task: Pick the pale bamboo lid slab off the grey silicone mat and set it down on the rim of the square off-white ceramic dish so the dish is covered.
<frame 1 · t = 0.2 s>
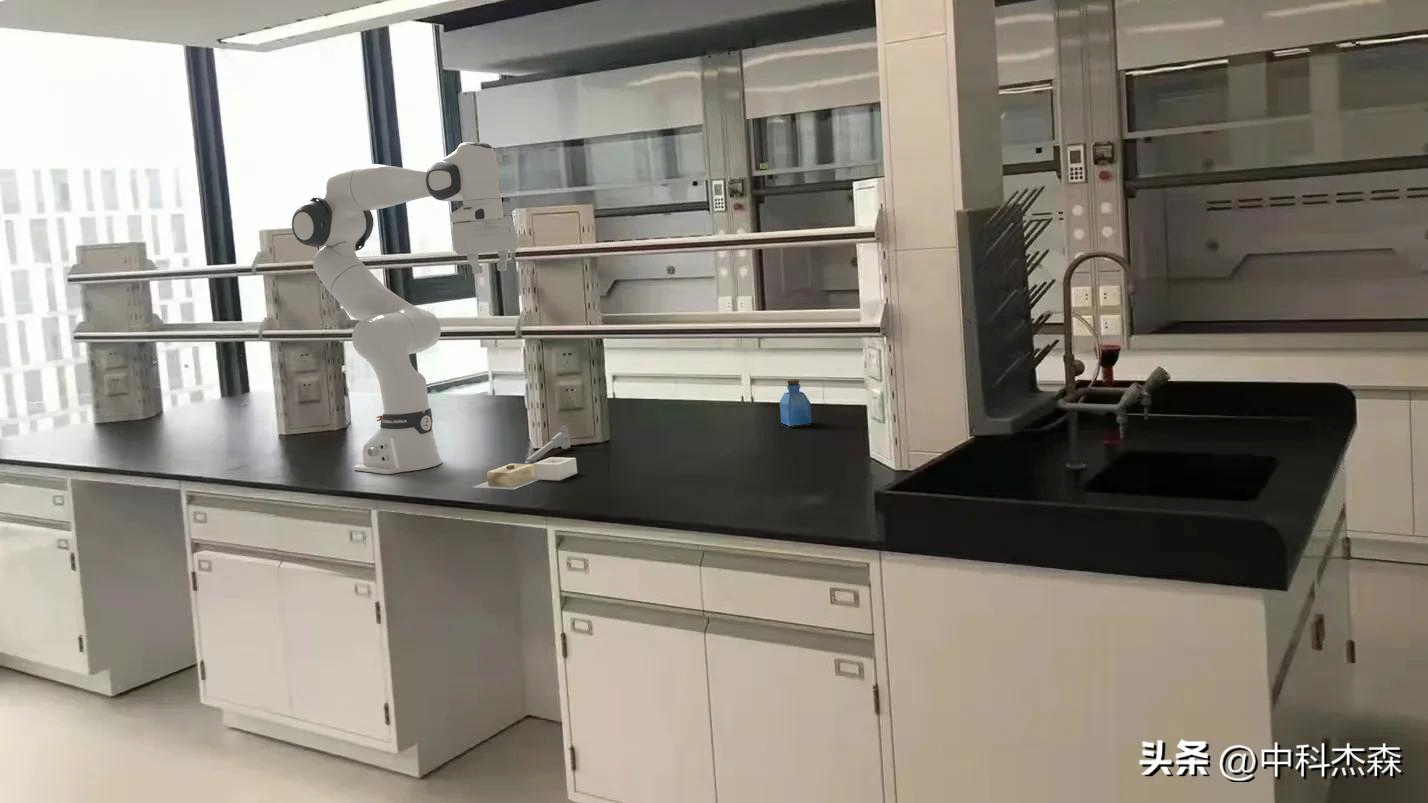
hand: (490, 272, 280), 47 cm above the table, fingers open, 8 cm apart
mat: (512, 482, 272), on the table
perfume bottle: (796, 425, 317), on the table
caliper: (548, 457, 302), on the table
lid: (511, 481, 272), resting on mat
dish: (556, 477, 274), on the table
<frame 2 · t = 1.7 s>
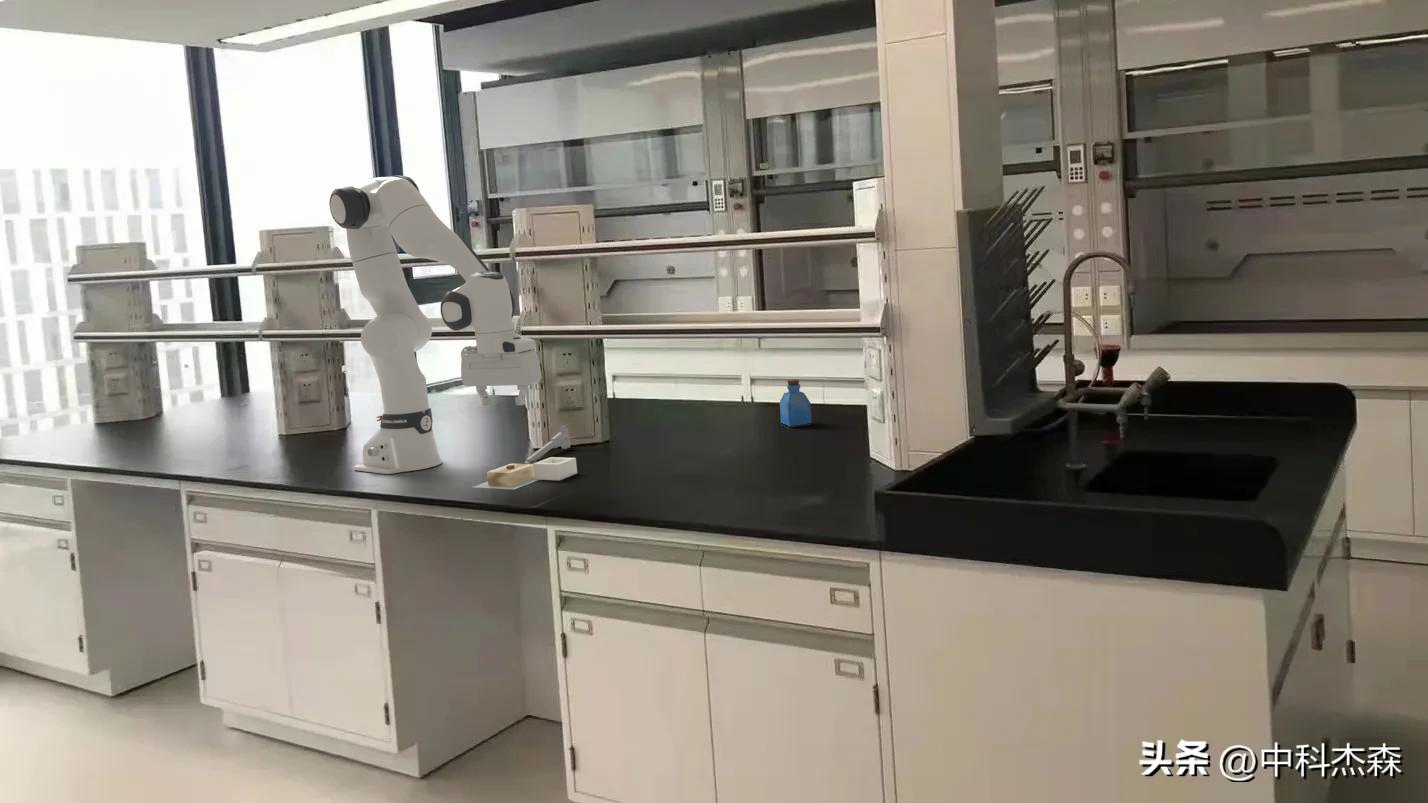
hand: (504, 405, 270), 18 cm above the table, fingers open, 8 cm apart
nothing on the table moved.
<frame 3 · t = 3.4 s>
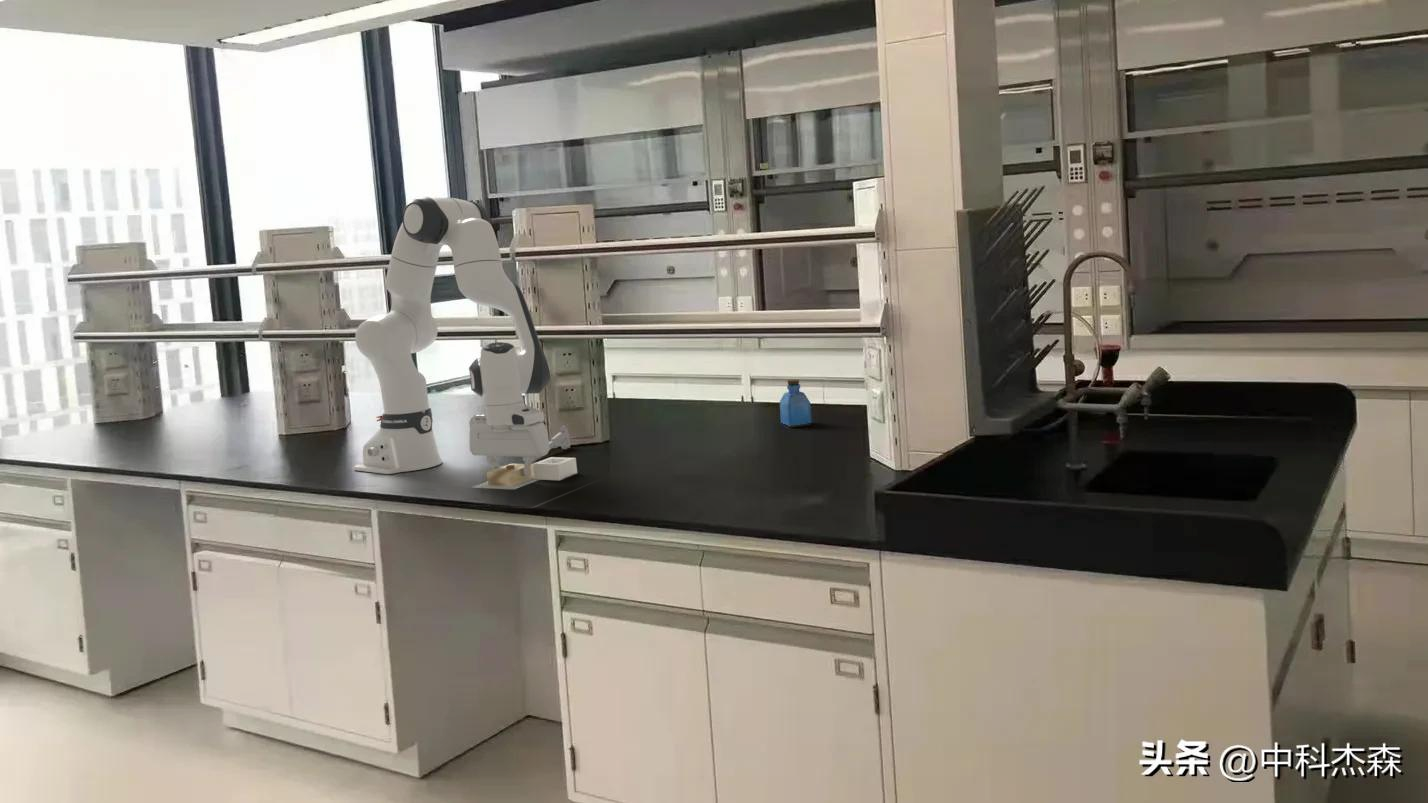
hand: (511, 474, 272), 2 cm above the table, fingers closed on lid, 7 cm apart
lid: (511, 481, 272), resting on mat, touching gripper
everything else where it was.
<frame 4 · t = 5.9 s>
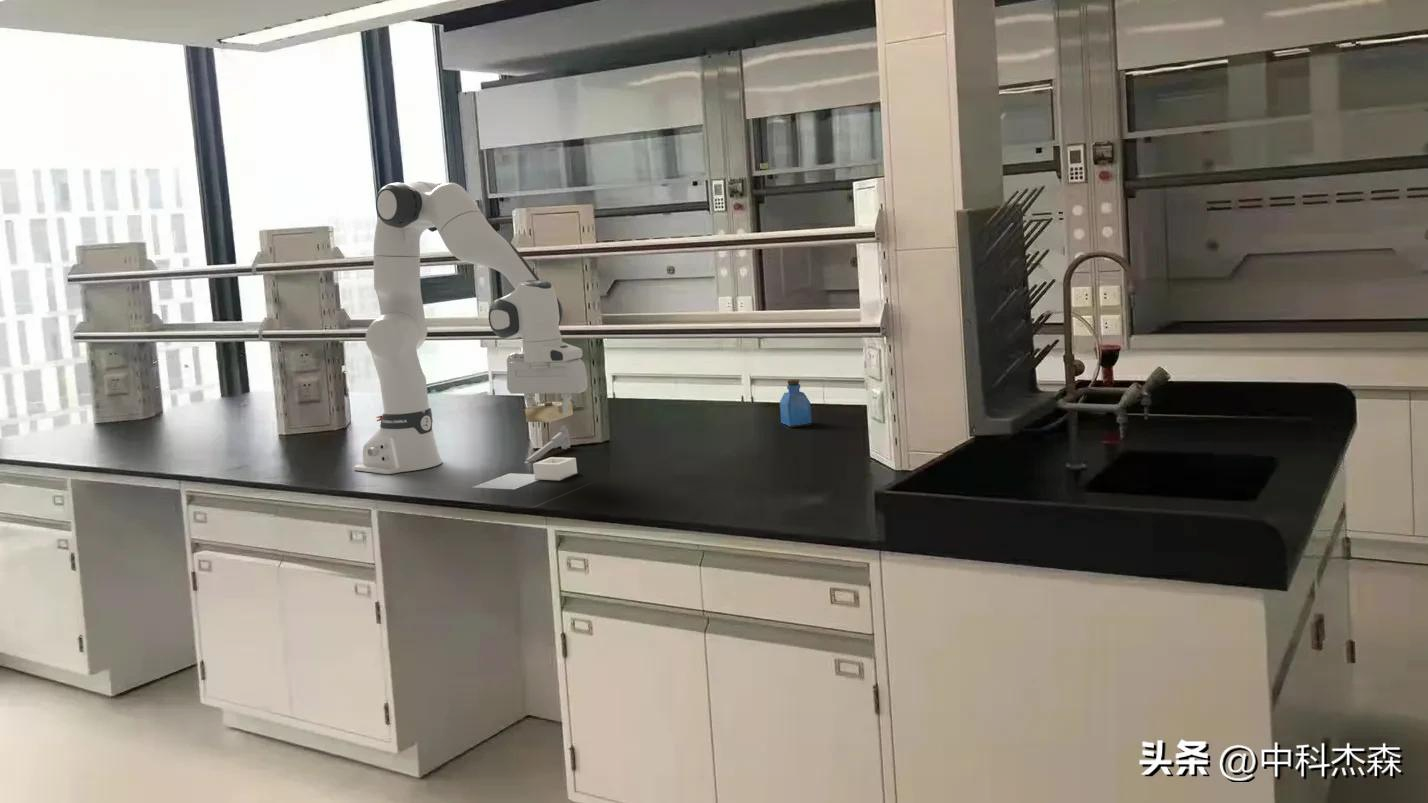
hand: (549, 412, 272), 15 cm above the table, fingers closed on lid, 6 cm apart
lid: (549, 418, 272), point 14 cm above the table, touching gripper
everything else where it was.
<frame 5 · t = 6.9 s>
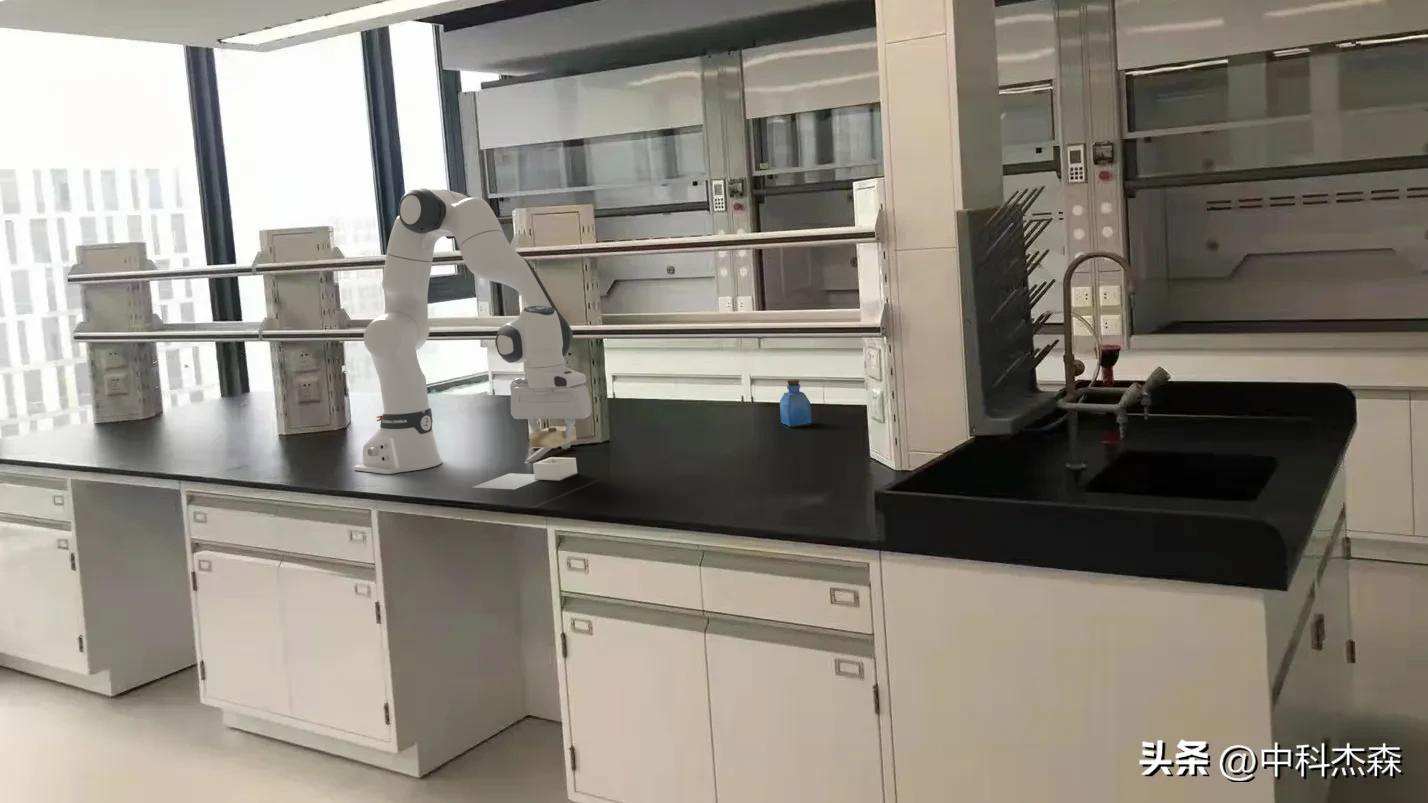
hand: (553, 437, 273), 9 cm above the table, fingers closed on lid, 6 cm apart
lid: (553, 443, 273), point 8 cm above the table, touching gripper
everything else where it was.
when the fingers open (6 cm above the table, at t = 8.0 s): lid stays where it is, resting on dish.
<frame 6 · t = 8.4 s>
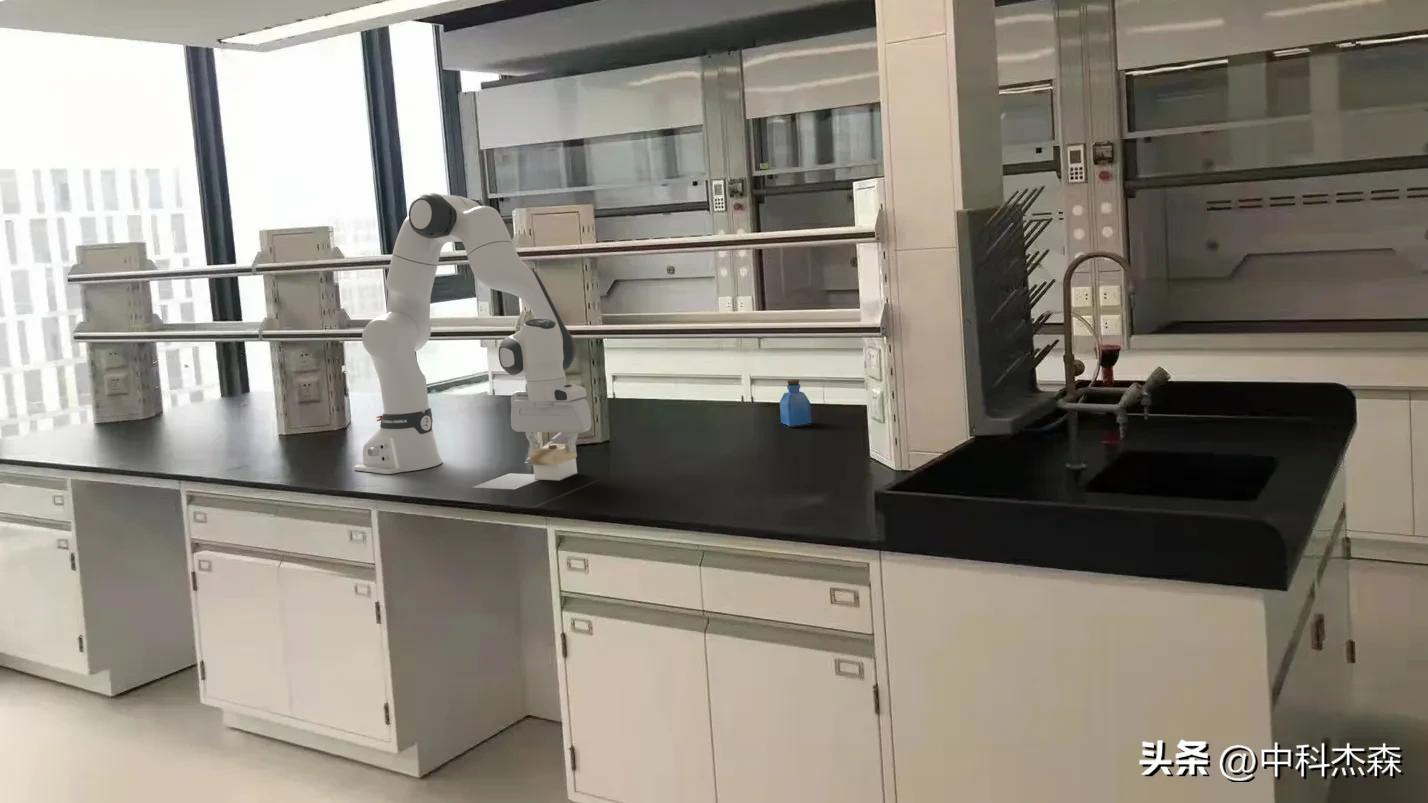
hand: (553, 451, 273), 6 cm above the table, fingers open, 8 cm apart
lid: (554, 460, 273), point 4 cm above the table, touching dish
everything else where it was.
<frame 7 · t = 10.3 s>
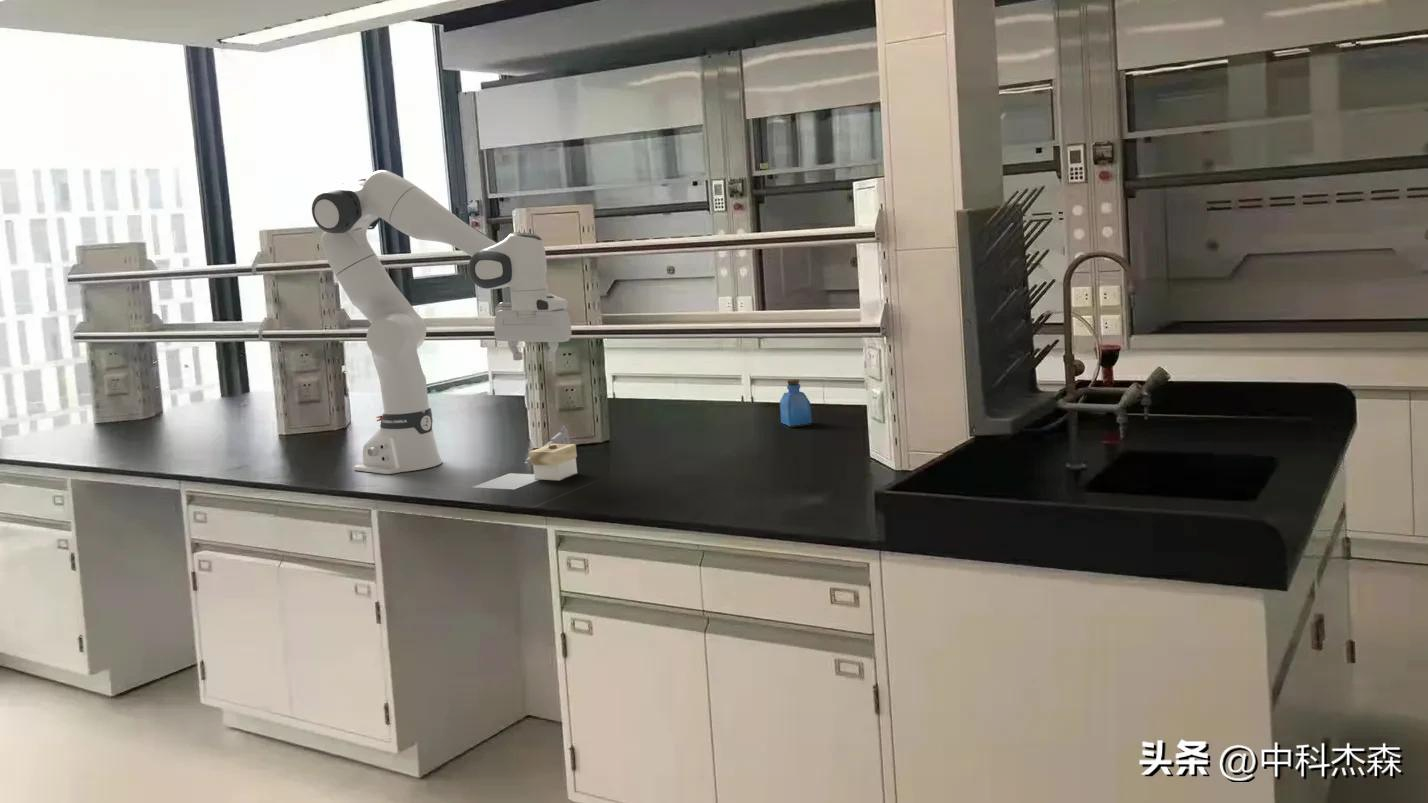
hand: (534, 360, 283), 26 cm above the table, fingers open, 8 cm apart
nothing on the table moved.
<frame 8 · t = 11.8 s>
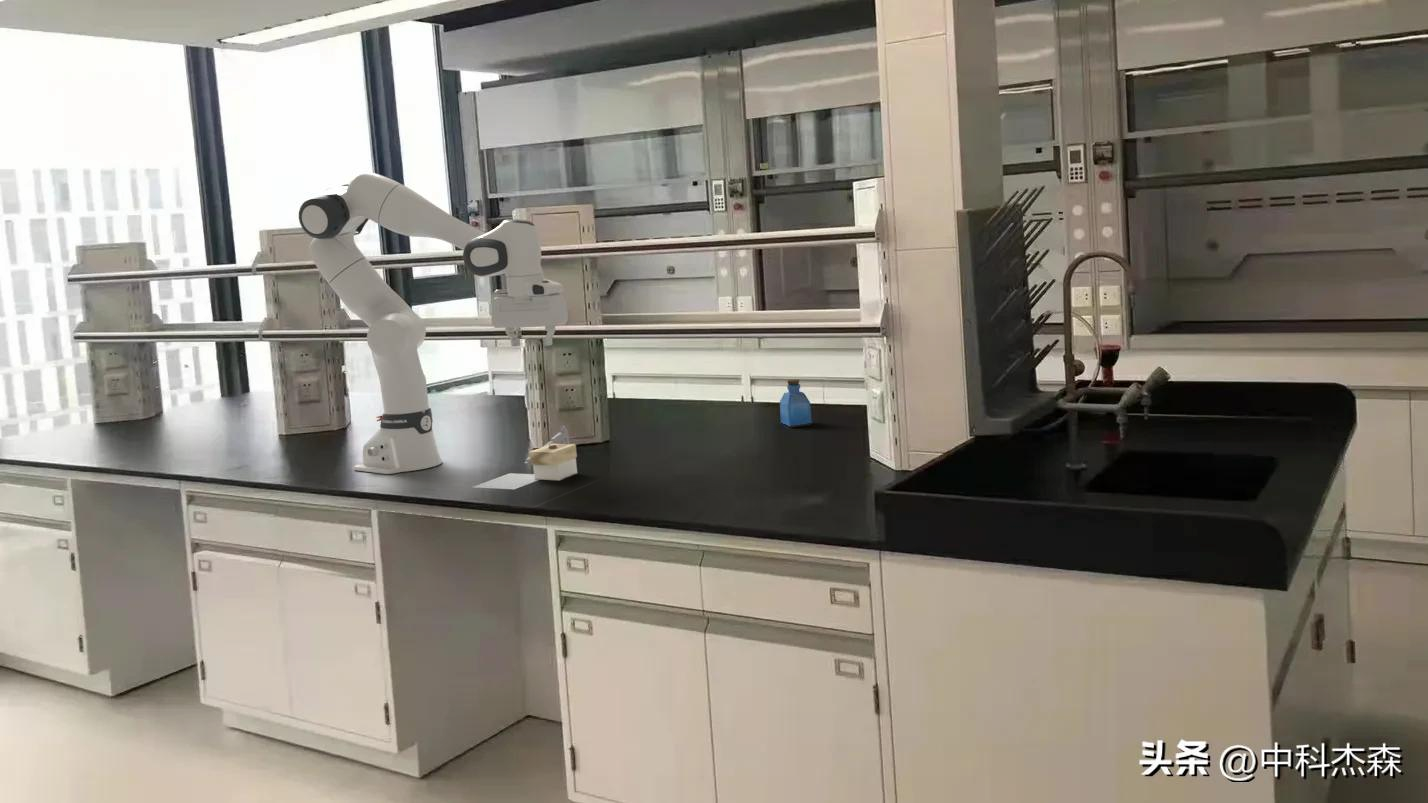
hand: (531, 345, 285), 29 cm above the table, fingers open, 8 cm apart
nothing on the table moved.
at the end: lid 0.1 cm off-centre on the dish, point 4.0 cm above the dish's base; lid tilted 0°; the gripper is holding nothing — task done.
